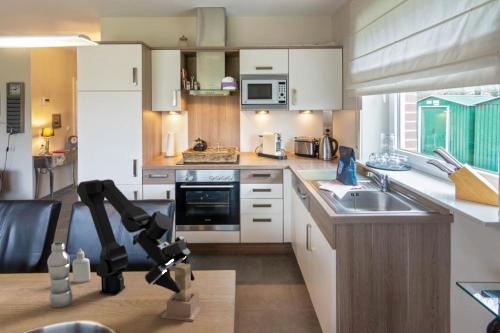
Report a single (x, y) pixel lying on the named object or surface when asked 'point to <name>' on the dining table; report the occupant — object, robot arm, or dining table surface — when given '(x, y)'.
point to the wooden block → (183, 282)
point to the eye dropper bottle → (81, 268)
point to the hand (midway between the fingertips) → (186, 286)
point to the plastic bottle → (59, 276)
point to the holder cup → (183, 308)
